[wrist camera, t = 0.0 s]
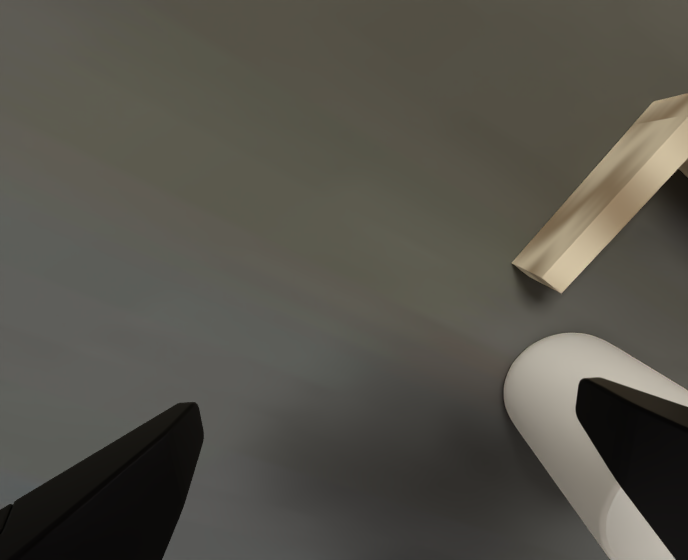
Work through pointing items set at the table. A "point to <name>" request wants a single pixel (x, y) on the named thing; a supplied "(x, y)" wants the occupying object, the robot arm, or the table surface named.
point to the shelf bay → (610, 195)
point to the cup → (583, 433)
